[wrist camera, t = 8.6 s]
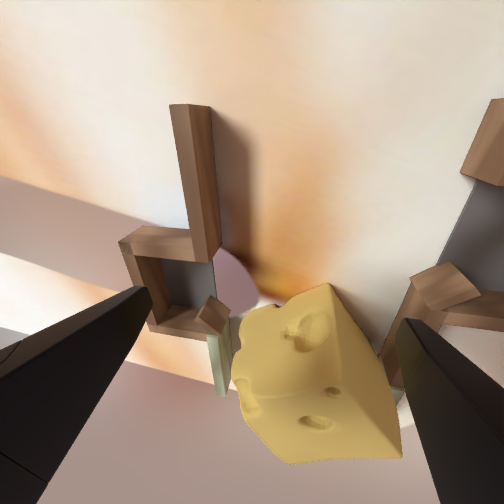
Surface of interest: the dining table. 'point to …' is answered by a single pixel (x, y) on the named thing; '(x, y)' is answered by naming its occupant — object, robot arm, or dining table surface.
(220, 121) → the dining table surface
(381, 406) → the cheese
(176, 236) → the wooden frame
